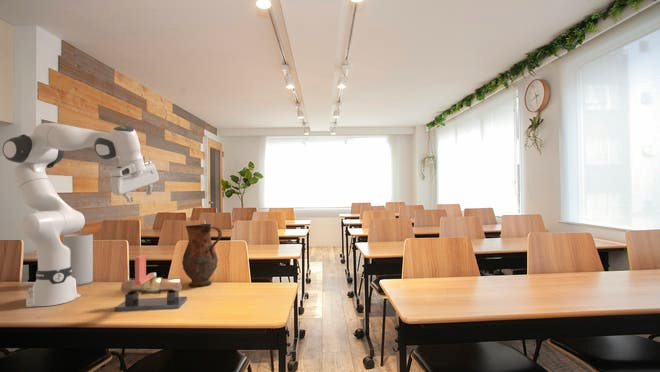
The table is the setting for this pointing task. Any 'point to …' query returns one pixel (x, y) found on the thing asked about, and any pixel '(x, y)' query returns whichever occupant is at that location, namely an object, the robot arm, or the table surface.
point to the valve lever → (142, 270)
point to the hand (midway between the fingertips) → (140, 198)
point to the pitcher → (200, 255)
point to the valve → (151, 288)
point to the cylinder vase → (80, 256)
